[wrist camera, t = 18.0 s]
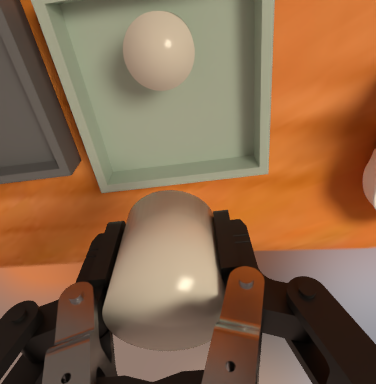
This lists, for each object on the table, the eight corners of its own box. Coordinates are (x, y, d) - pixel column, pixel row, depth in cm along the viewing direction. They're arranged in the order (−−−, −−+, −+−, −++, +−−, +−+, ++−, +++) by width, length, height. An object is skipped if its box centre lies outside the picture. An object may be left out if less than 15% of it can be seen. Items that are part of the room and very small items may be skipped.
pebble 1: (129, 15, 20) (114, 16, 16) (189, 7, 20) (190, 5, 16) (141, 79, 23) (131, 94, 19) (195, 72, 23) (198, 86, 18)
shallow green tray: (50, -7, 20) (27, -10, 17) (262, -42, 19) (276, -51, 16) (110, 174, 29) (101, 193, 26) (259, 156, 28) (268, 173, 25)
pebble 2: (116, 196, 13) (84, 284, 9) (211, 185, 13) (225, 271, 9) (138, 261, 15) (121, 354, 11) (218, 253, 15) (231, 346, 11)
